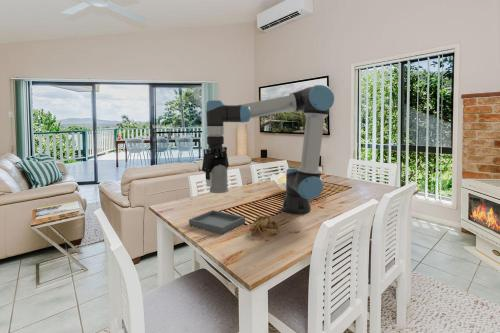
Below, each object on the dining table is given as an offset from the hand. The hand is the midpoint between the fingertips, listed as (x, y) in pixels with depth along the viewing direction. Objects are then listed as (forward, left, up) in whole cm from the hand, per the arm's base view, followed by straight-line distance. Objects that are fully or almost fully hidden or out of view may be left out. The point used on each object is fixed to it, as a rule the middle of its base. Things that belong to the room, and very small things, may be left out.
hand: (216, 184), depth 137 cm
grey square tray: (0, 0, -19) cm, 19 cm away
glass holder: (0, -1, -3) cm, 3 cm away
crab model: (-23, -5, -20) cm, 31 cm away
